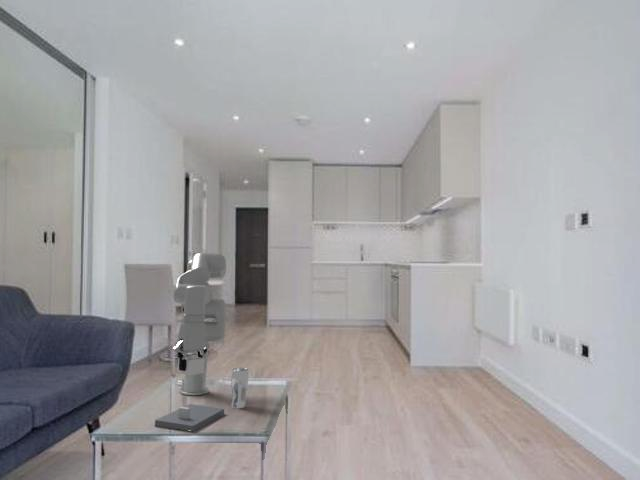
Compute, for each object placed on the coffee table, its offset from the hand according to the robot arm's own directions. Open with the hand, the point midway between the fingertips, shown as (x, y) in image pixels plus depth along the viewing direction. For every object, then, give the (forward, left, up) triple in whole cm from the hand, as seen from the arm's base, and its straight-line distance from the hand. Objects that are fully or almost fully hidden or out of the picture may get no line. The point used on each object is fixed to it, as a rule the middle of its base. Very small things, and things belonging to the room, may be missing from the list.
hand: (190, 368), depth 164 cm
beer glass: (+8, +25, -19) cm, 32 cm away
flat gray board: (0, +3, -19) cm, 19 cm away
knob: (0, 0, -1) cm, 1 cm away
